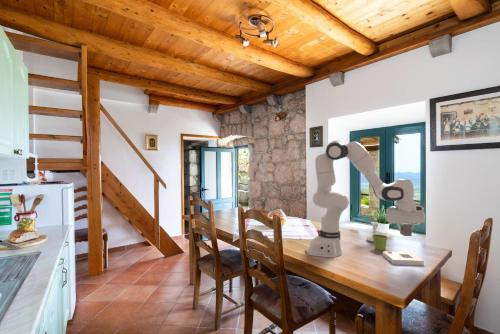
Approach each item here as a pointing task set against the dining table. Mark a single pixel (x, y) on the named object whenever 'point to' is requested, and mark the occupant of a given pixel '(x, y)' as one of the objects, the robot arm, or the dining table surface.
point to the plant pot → (380, 241)
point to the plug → (406, 229)
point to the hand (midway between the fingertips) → (405, 230)
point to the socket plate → (403, 258)
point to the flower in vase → (374, 224)
